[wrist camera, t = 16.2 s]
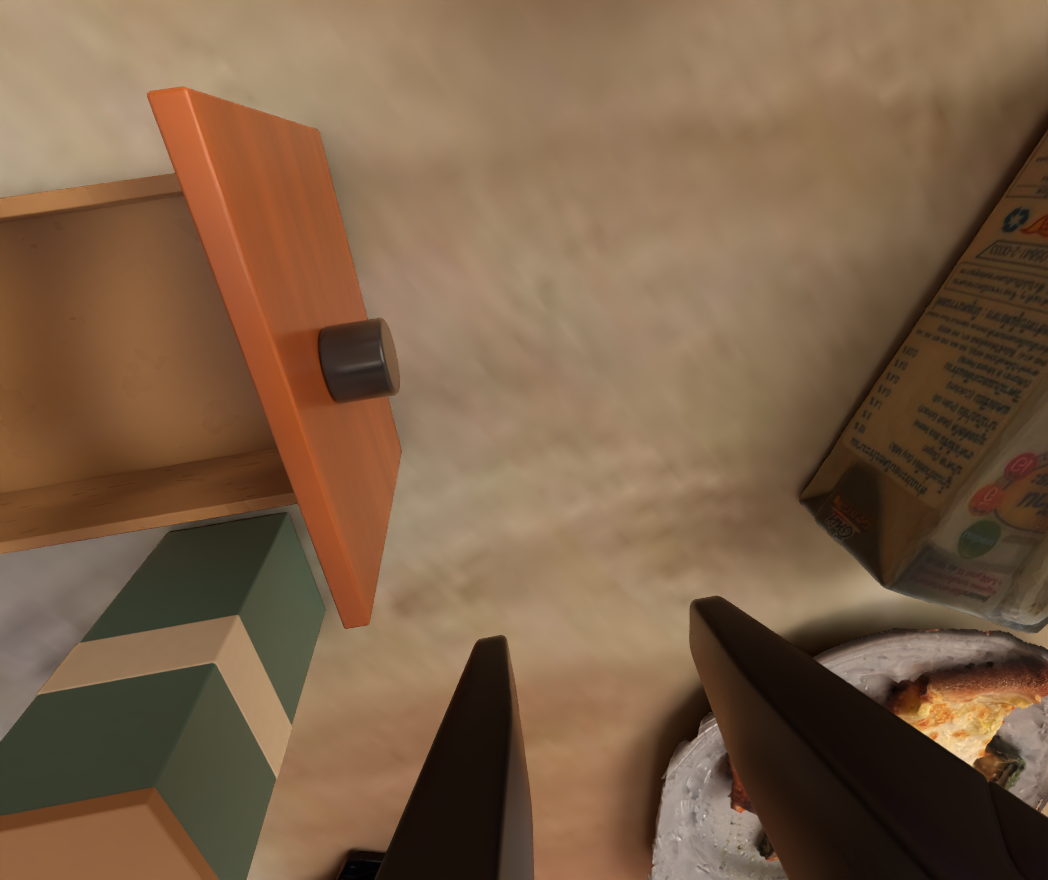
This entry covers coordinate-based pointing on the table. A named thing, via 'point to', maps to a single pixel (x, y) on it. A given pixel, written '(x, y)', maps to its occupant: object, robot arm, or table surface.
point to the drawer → (196, 350)
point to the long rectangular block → (167, 716)
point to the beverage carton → (960, 433)
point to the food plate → (907, 691)
